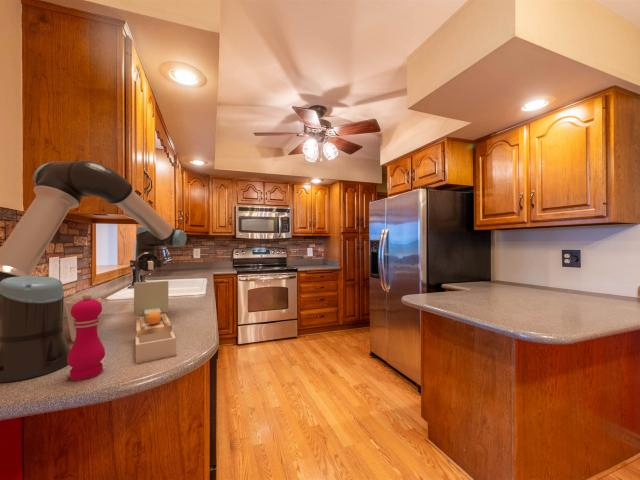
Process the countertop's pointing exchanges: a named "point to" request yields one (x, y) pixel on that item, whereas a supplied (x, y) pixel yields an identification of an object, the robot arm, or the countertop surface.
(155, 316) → the ball
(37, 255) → the robot arm
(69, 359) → the pepper mill
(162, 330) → the launcher
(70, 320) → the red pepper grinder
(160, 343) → the open beige box
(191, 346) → the countertop surface
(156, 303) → the lid
